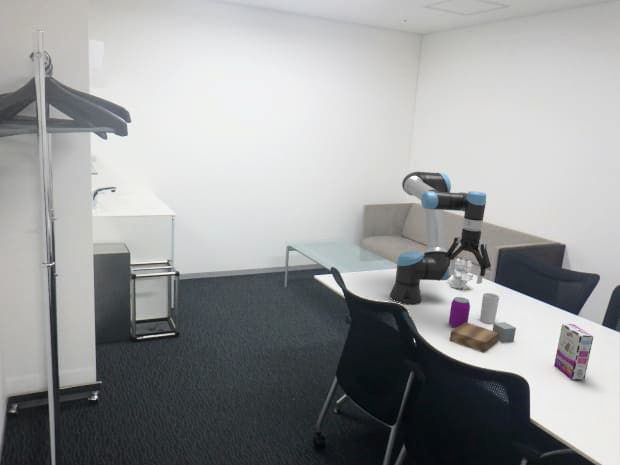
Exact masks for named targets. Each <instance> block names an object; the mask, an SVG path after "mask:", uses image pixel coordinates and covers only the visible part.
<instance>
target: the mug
mask: <svg viewBox="0 0 620 465" xmlns="http://www.w3.org/2000/svg"><path fill="white" fill-rule="evenodd" d="M499 300H500V296H499V295H498V294H496V293H492V292H484V293H483V294H482V299H481V302H482V303H481V308H480V315H479V316H480V318H479V320H480V321H481V322H482V323H485V324H494V323H496V322H495V321H496V317H497V313H498V307H499Z"/></svg>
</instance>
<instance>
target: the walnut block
mask: <svg viewBox="0 0 620 465" xmlns="http://www.w3.org/2000/svg"><path fill="white" fill-rule="evenodd" d="M498 337H499V333H498V332H495V331H493V329H492V330H491V329H488V328H484V327H482V326H478V325H475V324H473V323H469V322H468V323H467V322H465V323H464V324H462V325H460V326H458V327H457V328H453V329H452V330H451V331H450V337H449V341H451V342H454V343H457V344H459V345H462V346H465V347H467V348H469V349H470V348H471V349H472V350H473V349H474V350H476V351H479V352H481V353H485V352H488V350H489V349H491V348H492V347H494V346H495V345H496V344H497V343H499V341H498Z"/></svg>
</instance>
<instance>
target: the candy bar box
mask: <svg viewBox="0 0 620 465" xmlns="http://www.w3.org/2000/svg"><path fill="white" fill-rule="evenodd" d="M593 342H594V336H593V335H591V334H590V333H589V332H587V331H586V330H584V329H582V328H580V327H579V326H577V325H576V324H572V323H569V324H568V323H561V328H560V335H559V338H558V343H557V349H556V354H555V359H554V366H555V368H557V369H558V370H559V371H560V372H562V373H563V375H564V376H565V375H566V376H567V377H568V378H569V379H570V380H571V381H585V379H586V374H587V370H588V363H589V359H590V355H591V350H592V345H593Z"/></svg>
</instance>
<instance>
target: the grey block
mask: <svg viewBox="0 0 620 465" xmlns="http://www.w3.org/2000/svg"><path fill="white" fill-rule="evenodd" d="M516 330H517V328H516V326H513V325H511V324H509V323H507V322H505V321H504V322H494V323H493V326H492V331H495V332H498V333H499V337H498V342H500V343H502V344H505V343H512V342H515V335H516Z"/></svg>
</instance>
